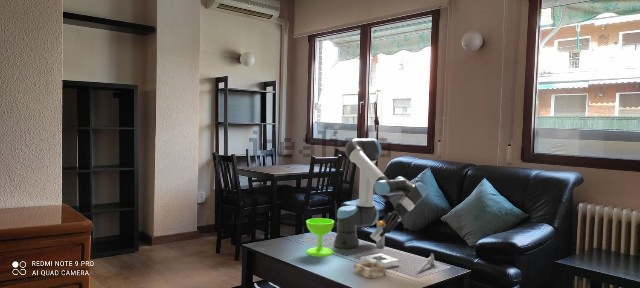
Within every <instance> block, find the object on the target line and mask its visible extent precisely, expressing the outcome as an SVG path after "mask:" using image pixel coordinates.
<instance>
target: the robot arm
mask: <svg viewBox="0 0 640 288" xmlns="http://www.w3.org/2000/svg"><path fill="white" fill-rule="evenodd" d="M344 151H345V155H346V157H347V159H348V160H349V161H350V162H352V163H354V164H355V165H356V166H357V167H358V168H359V187H358V188H359V190H358V191H359V194H358V202H356V204H355V205H356V206H355V205H345V206H341V207H339V208H338V210H337V213H336V219H337V220H336V223H337V224H336V235H335V238H334V241H333V246H334V247H335V248H339V249H344V250H345V249H346V250H347V249H349V250H350V249H351V250H352V249H357V248H359V247H360V241H359V238H358V234H357V228H362V227H370V226H374V225H375V224H376V223H377V221H379V219H380V217H379V215H380V213H379V211H378V210H379V209H378V207H376V204H375V203H374V191H375V193H376V194H377V195H379V196H386V195H394V194H395V195H396V194H403V195H404V196H402V198H401V199H400V200H399V201H398V202H397V203H396V204H395V206H394V207H393V208H394V210H393V211H392V212H391V211H389V212H388V213H387V214H386V215H385V216H384V217H383V219H381V221H385V228H384V229H383V228H382V229H383V230H384V231H383V230H381V231H380V232H379V233H378V234H377V235H376V230H377V228H376V229H375V230H374V231H373V233H371V234H370V235H369V236H370V238H371V239H372V240H374V241H375V243H376V242H378V241H379V240H380V239H381V238H382V237H383V236H384V235H385V236H386V234H390V233H391V232H392V231H393V230H394V229H395V228H396V227H397V226H398V224H400V223H401V222H402V221H403V219H402V217H403V218H405V217H407V216H408V215H409V213H410V212H411V211H412V210H413V209H414V207H416V205H418V203H419V202H421V200H422V199H423V198H424V197H425V196H426V194H427V193H428V191H429V190H428V187H426V186H425V184H424V183H422V182H419V181H418V182H416V183H413V182H412V181H410V180H409V179H407V178H406V177H403V176H401V175H400V176H397V177H395V178H394V179H389V178H388V177H387V176H386V175H385V174H384V173H383V172H382V171H381V170H380V169H379V168H378V167H377V165H375V163H376V162H377V160H378V158H379V157H380V156H381V154H382V146H381V143H380V142H379V140H377V139H376V138H371V137H367V138H366V137H363V138H357V137H356V138H352V139H350V140H349V141H348V142H347V143H346V144H345V150H344Z"/></svg>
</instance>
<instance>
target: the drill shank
mask: <svg viewBox="0 0 640 288" xmlns="http://www.w3.org/2000/svg"><path fill="white" fill-rule="evenodd" d="M375 224H376V229H377V230H376V229H375V230H376V235H377V234H378V233H379V232H380V231H381V230H383V229H384V228H385V221H382V219H381V220H379V219H378V221H377V222H376V223H375ZM382 228H383V229H382ZM383 231H384V230H383ZM385 238H386V234H385V235H384V236H383V237H382V238H381V239H380V240H379V241H378V242H376V241H375V248H376V249H377V250H384V249H385V247H386V246H385V244H386V243H385V240H386V239H385Z"/></svg>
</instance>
